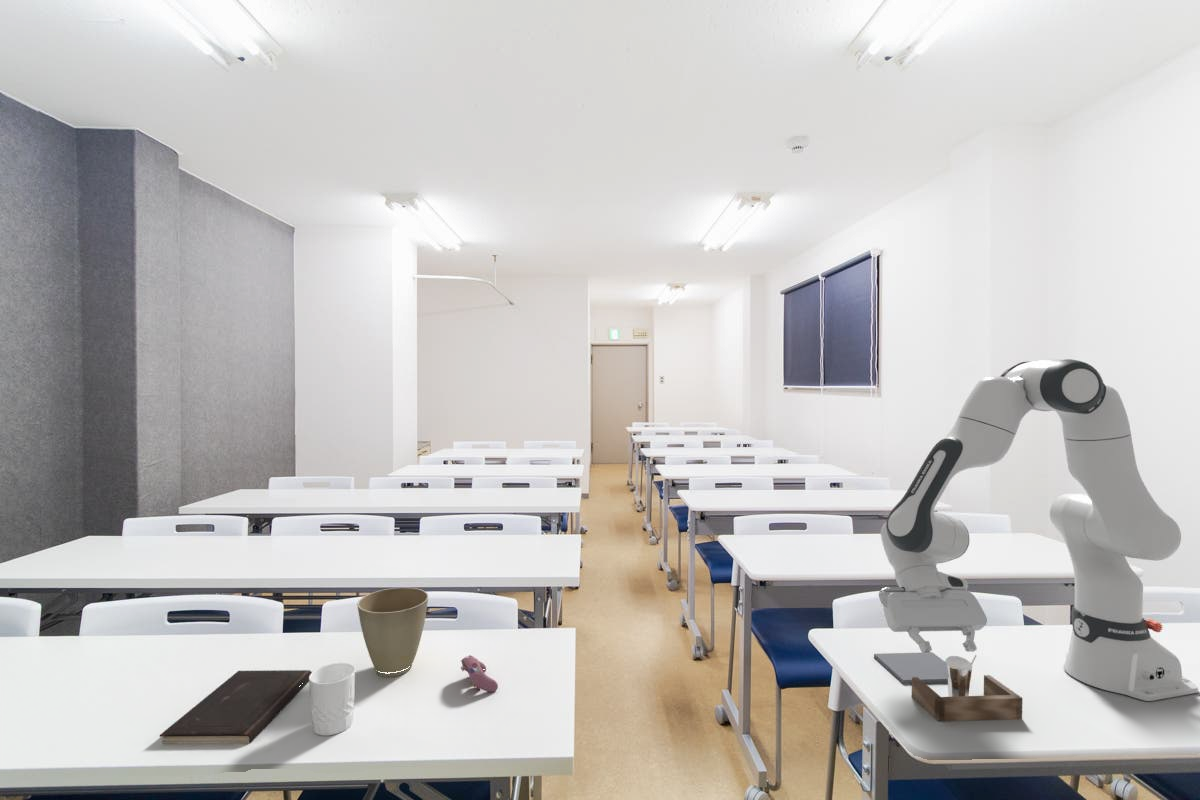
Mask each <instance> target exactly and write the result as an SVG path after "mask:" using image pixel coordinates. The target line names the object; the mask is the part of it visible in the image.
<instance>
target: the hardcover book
mask: <svg viewBox="0 0 1200 800" xmlns="http://www.w3.org/2000/svg"><path fill="white" fill-rule="evenodd" d="M312 672H313V671H312V670H309V669H308V670H307V669H303V670H298V669H294V670H291V669H290V670H287V669H286V670H275V669H274V670H238V671H236V672H235V673H234V674H233V675H231V676H230V677H229V678H228V679H227V680H225V681H224V682H223V683H221V684H220V685H219V686H218V687H217V688H215V690H213V691H212V692H210V694H208V695H207V696H206V697H204V698H203V699H202V700H201V701H199V703H197V704H196V705H195V706H193V707H191V709H190V710H188V712H186V713H185V714H184V715H181V717H180V718H179V719H178V720H176V721H175V722H174V723H172V724H171V725H170V726H168V728H167V729H165V730H164V731H162V733H161V734H159V737H160V738H162V740H161V741H162V744H252V743H253V741H254V740H255V739H256V738H257V737H258V736H259V735H260V734H261V733H262V732H263V731H264V730H265V728H267V727H268V726H269V724H271V722H272V721H273V720H274V719H275V718H276V717H277V716H278V715H279V713H281V712H282V711H283V710H284V709H285V708H286V706H287V705H288V704H289V703H290V702H292V701H293V699H294V698H295V697H296V696H297V695H298V694H299V693H301V691H302V690H303V689H304V688H305V687H306V685H307V684H308V683H309V676H310V674H311V673H312ZM302 683H303V684H302ZM300 685H301V686H300ZM299 686H300V687H299Z"/></svg>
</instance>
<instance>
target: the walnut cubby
mask: <svg viewBox="0 0 1200 800" xmlns="http://www.w3.org/2000/svg"><path fill="white" fill-rule="evenodd" d="M911 697H912V699H914V701H916V702H917V703H918V704H919V705H920V706H921V707H922V708H923V709H924V710H925V711H927V712H928V714H930V716H932V717H933V718H934V719H935V720H936V721H937V722H959V721H960V722H962V721H964V722H965V721H968V722H969V721H993V720H998V721H999V720H1022V719H1023V697H1022V696H1020V695H1019V694H1017V693H1016V692H1014V691H1013V690H1011V689H1010V688H1009V687H1007V686H1006V685H1004V684H1003V683H1002V682H1000V681H999V680H997V679H996V678H995V677H993V676H991V675H990V674H987V675H986V674H985V675H983V695H969V696H957V697H949V696H940V695H939V694H938V693H937V692H936V691H935V690H934V689H932V688H931V687H930V686H928V684H927V683H924V682H923V681H922V680H920V679H919V678H918V677H912V684H911Z"/></svg>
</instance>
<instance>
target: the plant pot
mask: <svg viewBox="0 0 1200 800" xmlns="http://www.w3.org/2000/svg"><path fill="white" fill-rule="evenodd" d="M428 601H429V594H428V593H427V592H426V591H425V590H423V589H421V588H417V587H408V586H407V587H403V586H402V587H392V588H391V587H390V588H386V589H385V588H384V589H381V590H377V591H373V592H371V593H368V594H366V595H364V596H363V597H361V598H360V599H359V600H358V601H357V603H356V605H357V610H358V611H357V612H358V618H359V622H360V629H361V633H362V636H363V639H364V642H365V646H366V649H367V652H368V656H369V658H370V661H371V663H372V666H373V667H374V669H376V670H377V671H376V670H375V672H376V673H377V675H378V676H380V677H384V678H394V677H398V676H399V677H400V676H402V675H404V674H406V673H407V672H410V670H411V669H412V667H413V664H414V661H415V658H416V656H417V652H418V650H419V646H420V642H421V638H422V635H423V631H424V626H425V622H426V621H425V620H426V616H427V611H428V610H427V608H428ZM412 663H413V664H412ZM409 666H410V667H409ZM408 667H409V668H408ZM406 668H408V669H406ZM403 669H406V670H404V671H401V670H403ZM378 671H380V672H387V673H388V672H396V671H401V672H397V673H390V674H385V673H380V672H378Z"/></svg>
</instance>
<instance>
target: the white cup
mask: <svg viewBox="0 0 1200 800" xmlns="http://www.w3.org/2000/svg"><path fill="white" fill-rule="evenodd" d="M311 672H312V673H311V674H310V676H309V682H308V683H309V684H308V685H309V686H308V687H309V698H310V710H311V717H312V718H311V719H312V729H313V732H314V734H316V735H319V736H324V737H325V736H326V737H327V736H333V735H337V734H340V733H342V732H344V731H346V730H347V729H349V727H350V726H351V725H352V723H353V721H354V709H355V708H354V706H355V695H356V692H355V689H356V688H355V687H356V667H355V666H354V665H353V664H351V663H348V662H336V663H331V664H326V665H324V666H321V667H319V668H317V669H315V670H314V671H311Z"/></svg>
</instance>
